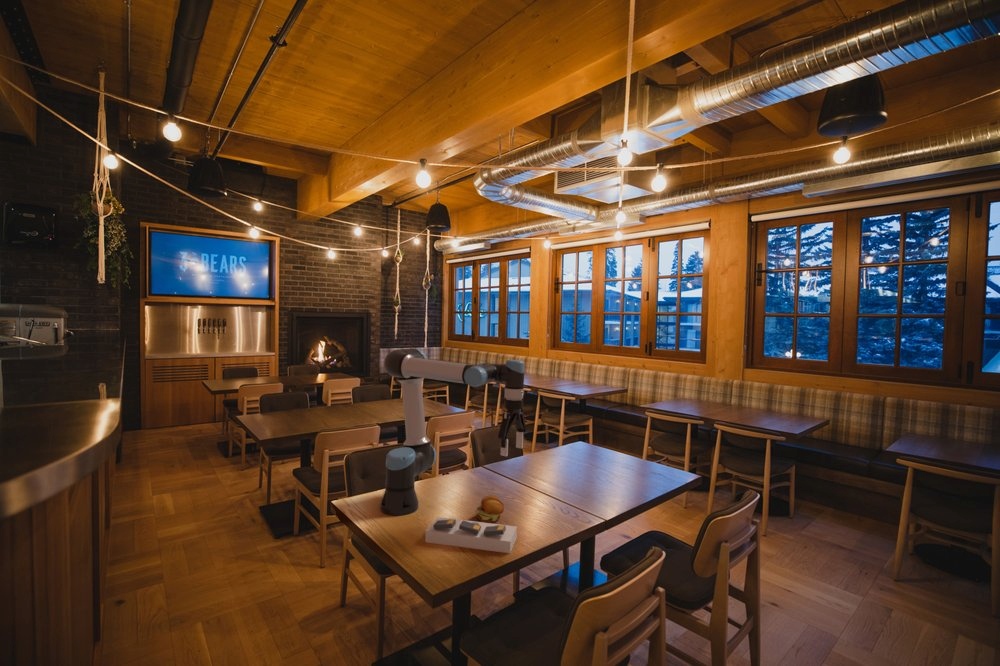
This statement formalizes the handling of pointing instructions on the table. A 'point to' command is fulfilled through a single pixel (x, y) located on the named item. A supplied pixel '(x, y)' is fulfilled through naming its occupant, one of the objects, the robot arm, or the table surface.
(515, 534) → the rocker switch panel
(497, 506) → the cheeseburger
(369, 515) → the table surface
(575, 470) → the table surface
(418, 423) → the robot arm
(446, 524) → the rocker left
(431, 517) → the table surface
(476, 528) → the rocker middle
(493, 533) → the rocker right
